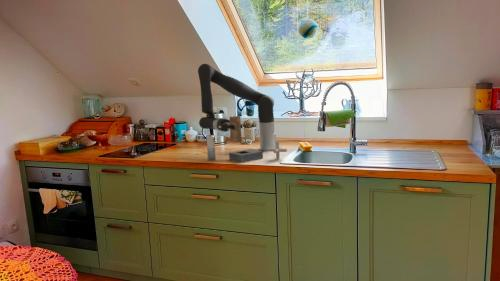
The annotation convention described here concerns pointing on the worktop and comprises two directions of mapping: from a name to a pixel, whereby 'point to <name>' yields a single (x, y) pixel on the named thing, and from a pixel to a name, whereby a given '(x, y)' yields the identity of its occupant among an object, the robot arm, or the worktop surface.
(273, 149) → the pipe connector
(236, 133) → the square walnut bit
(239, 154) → the socket block
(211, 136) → the round metal bit
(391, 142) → the worktop surface
